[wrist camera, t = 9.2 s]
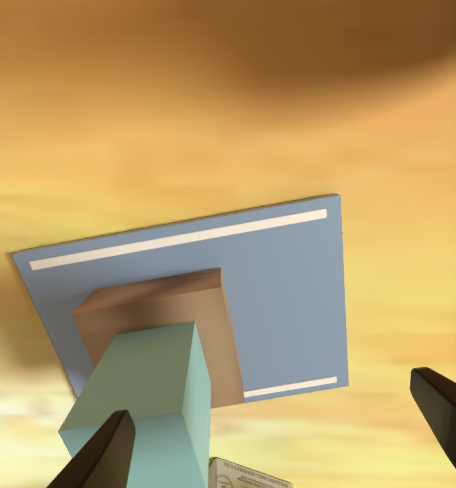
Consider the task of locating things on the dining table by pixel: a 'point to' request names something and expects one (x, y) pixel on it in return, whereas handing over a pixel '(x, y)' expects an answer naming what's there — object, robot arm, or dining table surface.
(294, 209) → the board
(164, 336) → the teal block
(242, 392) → the plinth
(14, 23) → the dining table surface
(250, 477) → the coffee box
